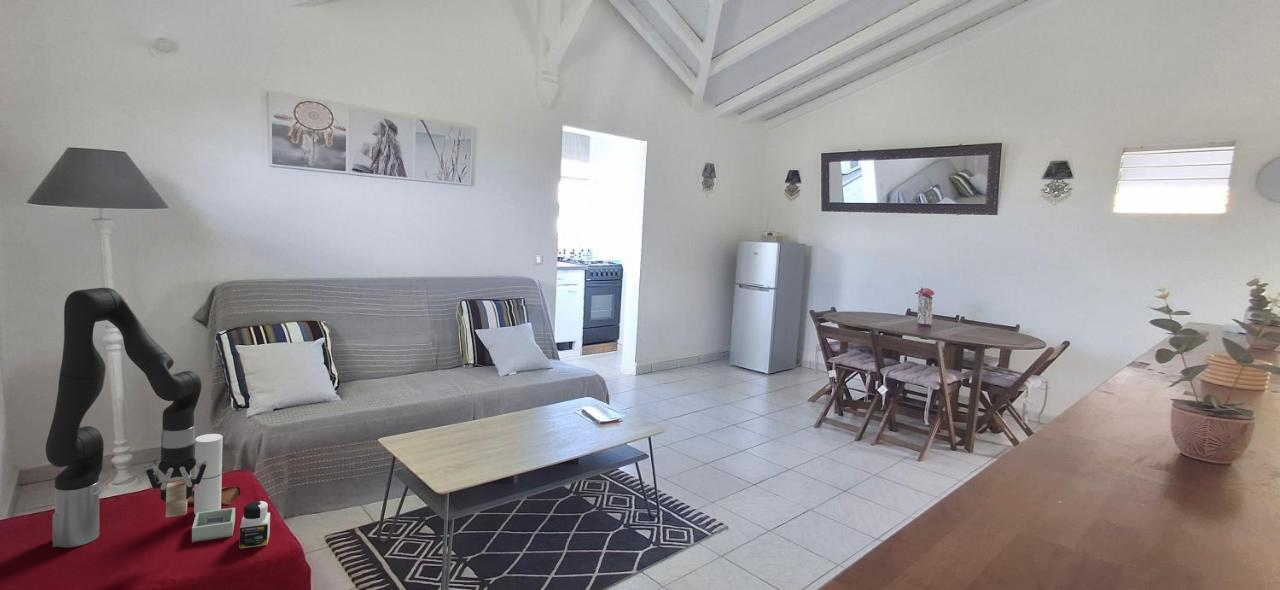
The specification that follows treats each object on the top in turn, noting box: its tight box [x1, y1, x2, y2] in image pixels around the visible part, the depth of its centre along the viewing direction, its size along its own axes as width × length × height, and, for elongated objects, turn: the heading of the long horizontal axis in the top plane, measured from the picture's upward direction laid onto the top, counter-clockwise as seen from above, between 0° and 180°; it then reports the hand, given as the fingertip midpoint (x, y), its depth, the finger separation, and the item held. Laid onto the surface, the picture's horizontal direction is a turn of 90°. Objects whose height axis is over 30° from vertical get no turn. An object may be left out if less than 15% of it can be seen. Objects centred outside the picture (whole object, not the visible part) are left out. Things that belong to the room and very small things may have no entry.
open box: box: [191, 507, 236, 543], centre depth 182 cm, size 10×10×4 cm
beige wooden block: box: [165, 481, 188, 518], centre depth 168 cm, size 4×2×9 cm, turn 121°
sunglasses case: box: [187, 486, 241, 507], centre depth 199 cm, size 18×7×7 cm, turn 108°
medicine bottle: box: [238, 500, 271, 549], centre depth 179 cm, size 7×7×12 cm
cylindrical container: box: [193, 433, 224, 516], centre depth 192 cm, size 7×7×25 cm
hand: (176, 498), depth 168 cm, fingers closed on beige wooden block, 4 cm apart
